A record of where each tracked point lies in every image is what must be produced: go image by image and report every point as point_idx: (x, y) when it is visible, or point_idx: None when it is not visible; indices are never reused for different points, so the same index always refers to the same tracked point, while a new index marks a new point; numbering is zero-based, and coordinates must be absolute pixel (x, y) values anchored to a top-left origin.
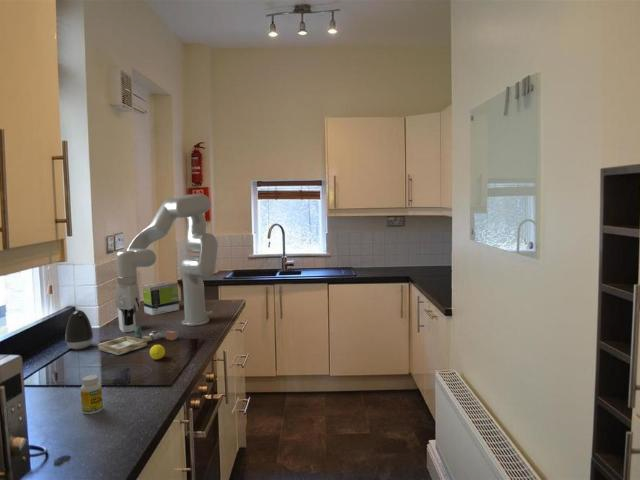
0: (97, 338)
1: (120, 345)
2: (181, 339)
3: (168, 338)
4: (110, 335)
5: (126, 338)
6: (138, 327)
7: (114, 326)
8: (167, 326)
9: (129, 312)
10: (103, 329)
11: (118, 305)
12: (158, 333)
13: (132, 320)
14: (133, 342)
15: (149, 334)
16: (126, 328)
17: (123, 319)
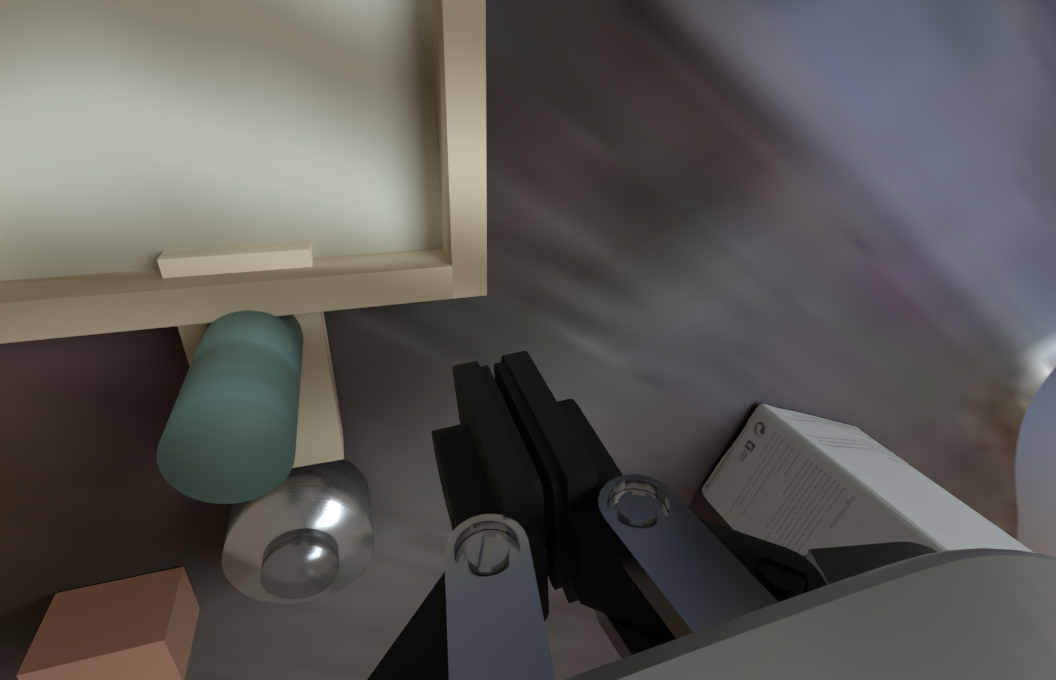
0: (877, 164)
1: (251, 32)
2: (2, 657)
3: (130, 585)
4: (819, 296)
5: (436, 258)
6: (160, 446)
7: (937, 436)
8: (563, 666)
9: (450, 639)
10: (976, 352)
11: (982, 673)
12: (229, 572)
13: (448, 507)
14: (239, 246)
15: (304, 497)
16: (765, 447)
17: (854, 496)
